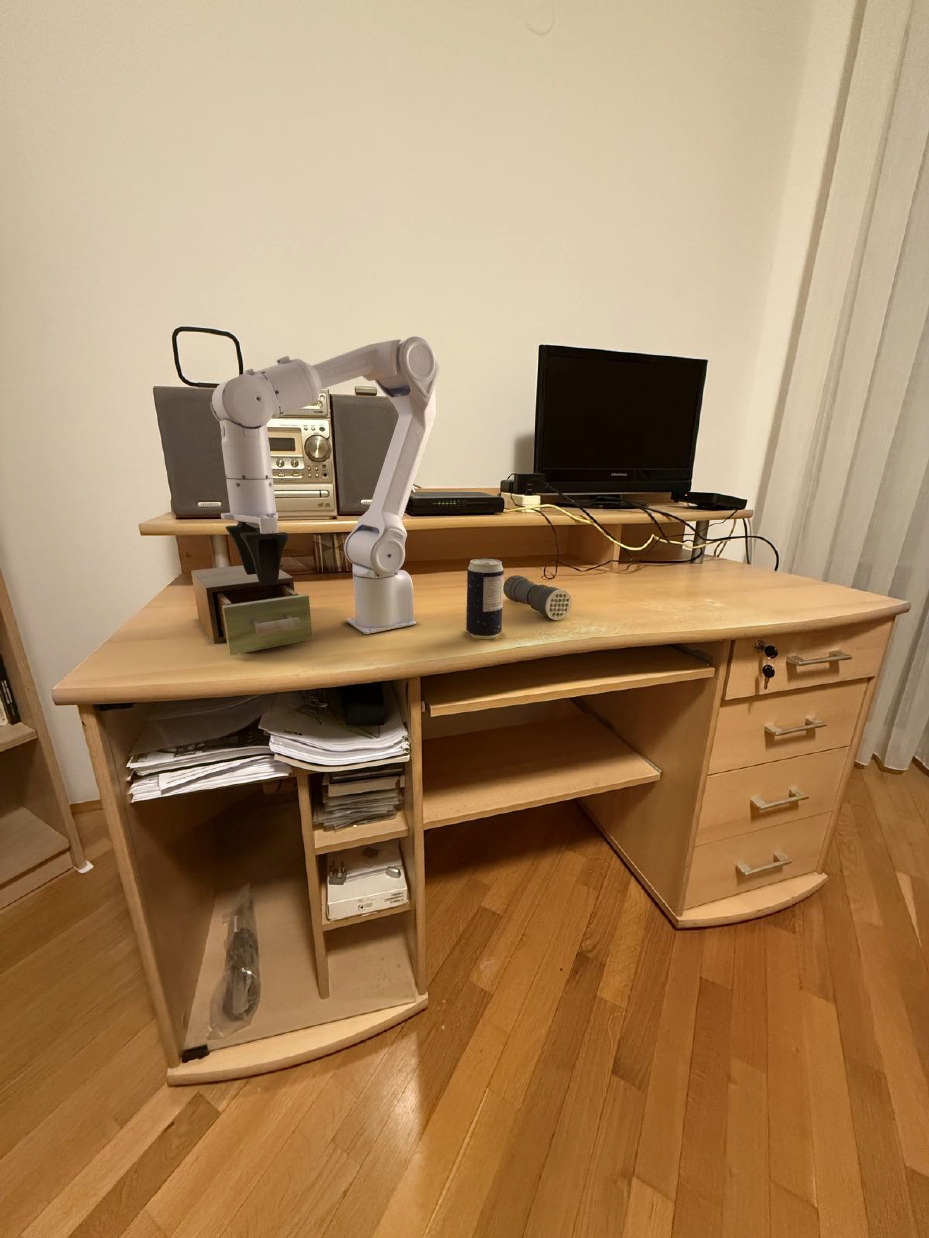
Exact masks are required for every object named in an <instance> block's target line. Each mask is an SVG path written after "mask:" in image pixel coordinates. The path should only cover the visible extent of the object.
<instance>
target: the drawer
mask: <svg viewBox="0 0 929 1238" xmlns="http://www.w3.org/2000/svg"><path fill="white" fill-rule="evenodd" d="M212 593H213V599H214V605H215V612H216V619H217V626H218V629H219V630H220V631H221V633H222V634H223V635H224V637H225V638H226V640H227V641H226V644H227V651H228V654H229V656H235V655H240V654H245V653H250V652H255V651H260V650H265V649H271V648H277V647H281V646H286V645H293V644H295V643H296V644H298V643H302V642H306V641H307V642H308V641H311V640H312V641H313V630H312V629H313V627H312V615H311V604H310V603H311V602H310V595H308V594H307V593H303V594H299V593H298V592H296V590H295V591H293V590H292V589H290V588H289V587H287V586H286V585H284V584H275V585H267V586H259V587H251V588H243V589H235V590H227V591H219V592H212Z"/></svg>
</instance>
